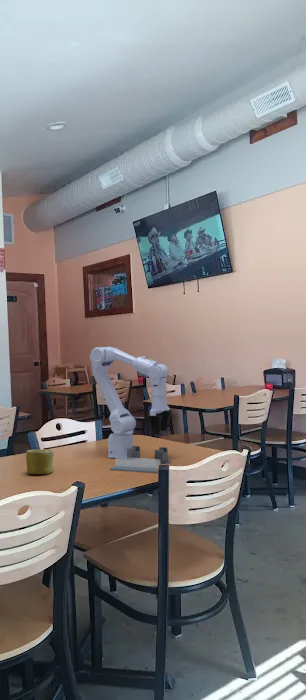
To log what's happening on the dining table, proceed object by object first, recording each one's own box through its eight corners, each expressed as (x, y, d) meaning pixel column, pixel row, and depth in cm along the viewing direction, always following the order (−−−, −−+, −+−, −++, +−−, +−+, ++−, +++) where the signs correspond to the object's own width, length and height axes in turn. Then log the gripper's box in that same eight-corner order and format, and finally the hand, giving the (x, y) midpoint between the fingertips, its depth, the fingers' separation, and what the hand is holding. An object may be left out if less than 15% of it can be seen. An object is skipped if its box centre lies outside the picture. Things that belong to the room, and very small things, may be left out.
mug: (41, 473, 192) (38, 443, 195) (21, 479, 197) (18, 450, 200) (67, 472, 201) (63, 444, 204) (46, 478, 207) (43, 451, 210)
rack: (124, 463, 211) (124, 448, 210) (131, 459, 216) (130, 445, 216) (165, 465, 205) (164, 450, 205) (170, 462, 210) (170, 447, 210)
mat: (109, 469, 201) (109, 468, 201) (118, 465, 208) (118, 463, 208) (157, 473, 195) (157, 471, 195) (164, 468, 201) (164, 466, 201)
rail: (118, 465, 205) (115, 467, 202) (118, 457, 205) (115, 458, 202) (160, 467, 200) (157, 469, 197) (160, 459, 199) (157, 461, 197)
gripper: (162, 398, 206) (163, 436, 206) (175, 394, 220) (176, 429, 220) (144, 398, 209) (145, 435, 209) (158, 394, 222) (159, 428, 222)
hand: (160, 432), depth 215 cm, fingers open, 7 cm apart
